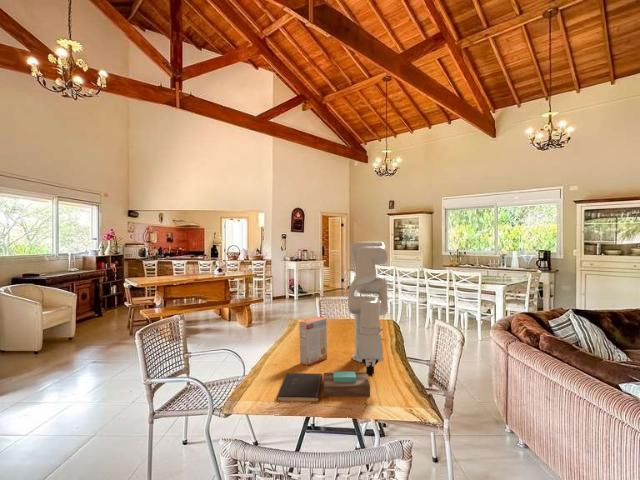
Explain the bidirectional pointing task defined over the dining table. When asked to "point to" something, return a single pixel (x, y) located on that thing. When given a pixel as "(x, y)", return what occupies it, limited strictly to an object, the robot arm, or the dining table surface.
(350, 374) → the teal rectangular block
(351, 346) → the dining table surface
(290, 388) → the hardcover book
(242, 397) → the dining table surface
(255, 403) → the dining table surface
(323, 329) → the cracker box
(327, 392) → the brown flat block
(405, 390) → the dining table surface
